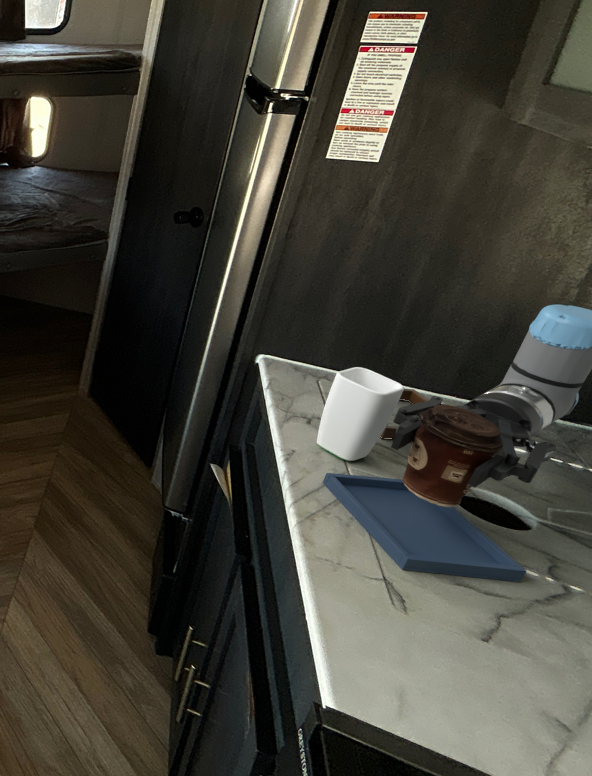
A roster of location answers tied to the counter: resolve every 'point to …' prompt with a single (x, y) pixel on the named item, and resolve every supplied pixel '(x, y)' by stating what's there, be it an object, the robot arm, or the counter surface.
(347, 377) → the cup
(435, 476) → the coffee cup
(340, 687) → the counter surface
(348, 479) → the tray
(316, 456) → the counter surface
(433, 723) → the counter surface
